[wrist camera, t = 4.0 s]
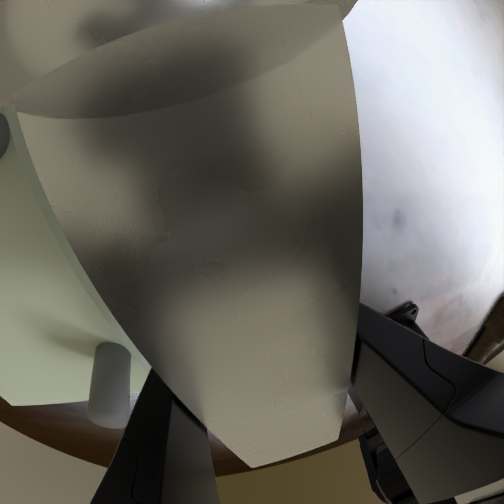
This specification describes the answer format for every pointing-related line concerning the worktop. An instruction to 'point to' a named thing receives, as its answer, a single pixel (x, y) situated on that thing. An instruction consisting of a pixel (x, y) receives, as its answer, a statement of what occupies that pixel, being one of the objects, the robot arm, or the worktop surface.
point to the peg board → (54, 305)
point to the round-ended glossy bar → (207, 194)
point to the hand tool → (489, 335)
